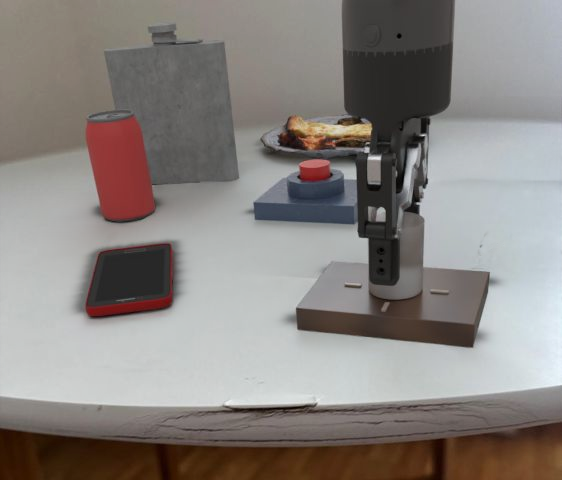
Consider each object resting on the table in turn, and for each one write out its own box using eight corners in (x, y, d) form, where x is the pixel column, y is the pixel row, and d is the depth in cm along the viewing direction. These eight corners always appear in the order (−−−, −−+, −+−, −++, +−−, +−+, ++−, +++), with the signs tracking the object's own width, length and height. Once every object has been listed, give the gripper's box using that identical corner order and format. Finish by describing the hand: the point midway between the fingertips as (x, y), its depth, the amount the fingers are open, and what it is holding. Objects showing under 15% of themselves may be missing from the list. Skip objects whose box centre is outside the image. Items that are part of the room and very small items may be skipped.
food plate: (242, 164, 104) (239, 140, 102) (286, 129, 122) (285, 108, 120) (410, 164, 96) (411, 138, 95) (430, 126, 115) (431, 104, 113)
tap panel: (488, 292, 60) (490, 269, 59) (473, 348, 52) (475, 322, 51) (332, 280, 64) (331, 259, 63) (296, 330, 57) (295, 306, 55)
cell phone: (173, 250, 74) (171, 241, 74) (173, 308, 62) (171, 298, 61) (100, 259, 74) (98, 250, 73) (85, 319, 61) (83, 309, 61)
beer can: (138, 224, 83) (118, 120, 77) (92, 222, 85) (69, 120, 79) (165, 207, 88) (148, 108, 82) (121, 205, 90) (102, 108, 84)
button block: (376, 197, 85) (375, 164, 83) (354, 225, 77) (353, 189, 75) (284, 194, 89) (281, 163, 87) (254, 220, 81) (251, 186, 79)
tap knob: (375, 276, 60) (375, 206, 56) (427, 279, 58) (429, 208, 55) (362, 297, 56) (361, 224, 53) (416, 302, 55) (418, 227, 51)
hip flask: (126, 186, 98) (96, 29, 88) (135, 178, 101) (106, 26, 91) (236, 182, 96) (219, 20, 85) (241, 173, 99) (225, 17, 89)
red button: (334, 174, 82) (333, 159, 81) (325, 183, 79) (324, 167, 78) (305, 173, 83) (304, 159, 82) (295, 182, 80) (294, 167, 79)
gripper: (434, 51, 41) (425, 307, 49) (467, 25, 52) (455, 236, 60) (312, 56, 43) (324, 298, 52) (369, 29, 54) (371, 232, 63)
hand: (395, 264), depth 56 cm, fingers open, 7 cm apart
